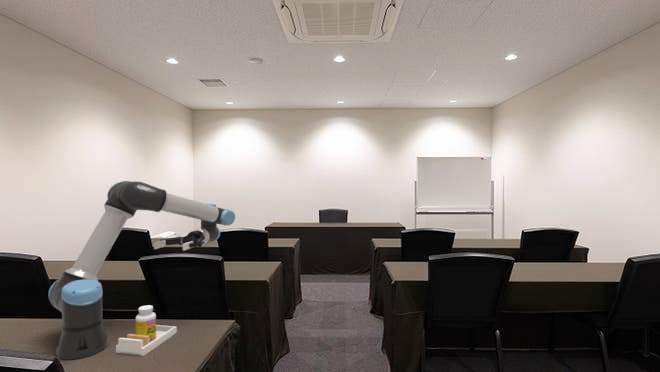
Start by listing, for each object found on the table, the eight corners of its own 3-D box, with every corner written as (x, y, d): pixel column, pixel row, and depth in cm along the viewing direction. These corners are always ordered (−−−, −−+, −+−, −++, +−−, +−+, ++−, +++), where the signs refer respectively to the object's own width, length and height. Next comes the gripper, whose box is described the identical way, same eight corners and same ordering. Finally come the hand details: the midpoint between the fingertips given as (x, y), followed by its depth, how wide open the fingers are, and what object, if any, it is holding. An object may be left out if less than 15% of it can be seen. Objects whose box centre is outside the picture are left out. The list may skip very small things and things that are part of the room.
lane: (115, 352, 121) (115, 338, 121) (152, 330, 139) (152, 318, 139) (143, 355, 119) (143, 341, 119) (176, 332, 136) (176, 320, 136)
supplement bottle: (147, 347, 124) (147, 311, 123) (131, 345, 125) (130, 310, 125) (160, 338, 130) (159, 304, 130) (144, 337, 132) (144, 303, 131)
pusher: (126, 346, 124) (126, 334, 124) (129, 344, 125) (128, 333, 125) (147, 348, 123) (147, 337, 122) (149, 347, 124) (149, 335, 123)
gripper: (221, 246, 165) (195, 256, 144) (174, 244, 170) (143, 254, 149) (221, 231, 164) (195, 238, 144) (174, 229, 169) (142, 236, 149)
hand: (168, 246), depth 146 cm, fingers open, 13 cm apart
